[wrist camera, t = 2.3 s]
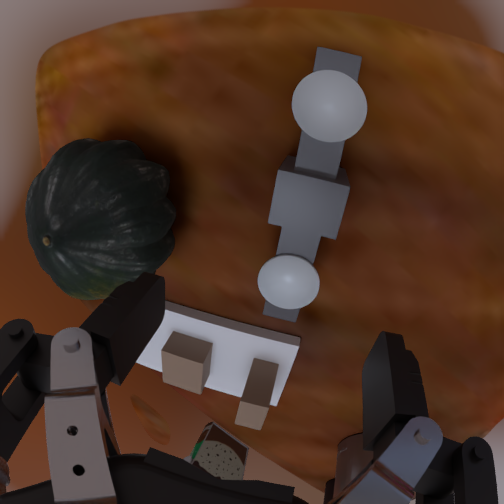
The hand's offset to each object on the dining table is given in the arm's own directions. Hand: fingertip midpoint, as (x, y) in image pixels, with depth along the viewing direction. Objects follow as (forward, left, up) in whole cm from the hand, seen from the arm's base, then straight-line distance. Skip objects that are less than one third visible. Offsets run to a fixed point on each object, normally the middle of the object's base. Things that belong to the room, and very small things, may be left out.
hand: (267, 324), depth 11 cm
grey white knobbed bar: (-1, 0, -19) cm, 19 cm away
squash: (+17, +5, -19) cm, 26 cm away
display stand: (+8, +23, -18) cm, 30 cm away
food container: (+3, +46, -19) cm, 49 cm away
